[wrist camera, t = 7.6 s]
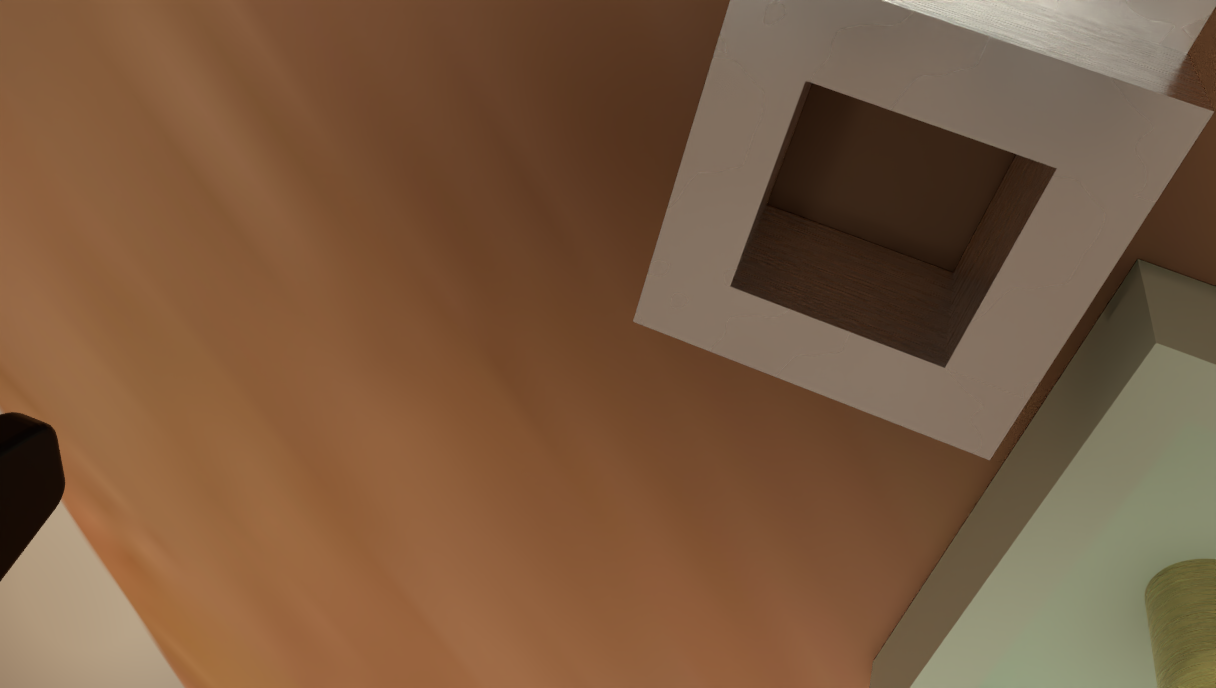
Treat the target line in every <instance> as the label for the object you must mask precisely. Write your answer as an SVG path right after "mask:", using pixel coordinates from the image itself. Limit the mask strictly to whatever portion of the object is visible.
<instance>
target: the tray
mask: <svg viewBox="0 0 1216 688" xmlns="http://www.w3.org/2000/svg"><path fill="white" fill-rule="evenodd" d="M1193 559H1216V287H1215V286H1212V285H1210V284H1207V283H1204V282H1201V281H1198V280H1196V279H1193V278H1190V277H1187V276H1184V275H1182V274H1179V273H1176V272H1173V271H1170V270H1168V269H1165V268H1162V267H1159V266H1156V265H1154V264H1151V263H1148V262H1145V261H1142V260H1140V259H1138V260H1137V261H1136V263H1135V264H1134V266H1133V267H1132V269H1131V270H1130V272H1129V273H1128V275H1127V276H1126V278H1125V279H1124V281H1123V282H1122V284H1121V285H1120V287H1119V288H1118V290H1117V291H1116V293H1115V295H1114V296H1113V298H1112V299H1111V301H1110V302H1109V304H1108V305H1107V307H1106V308H1105V310H1104V311H1103V313H1102V314H1101V316H1100V317H1099V319H1098V320H1097V322H1096V323H1095V325H1094V326H1093V328H1092V329H1091V331H1090V333H1089V334H1088V336H1087V337H1086V339H1085V340H1084V342H1083V343H1082V345H1081V346H1080V348H1079V349H1078V351H1077V352H1076V354H1075V355H1074V357H1073V358H1072V360H1071V361H1070V363H1069V364H1068V366H1067V368H1066V369H1065V371H1064V372H1063V374H1062V375H1061V377H1060V378H1059V380H1058V381H1057V383H1056V384H1055V386H1054V387H1053V389H1052V390H1051V392H1050V393H1049V395H1048V396H1047V398H1046V399H1045V401H1044V402H1043V404H1042V406H1041V407H1040V409H1039V410H1038V412H1037V413H1036V415H1035V416H1034V418H1033V419H1032V421H1031V422H1030V424H1029V425H1028V427H1027V428H1026V430H1025V431H1024V433H1023V434H1022V436H1021V437H1020V439H1019V440H1018V442H1017V444H1016V445H1015V447H1014V448H1013V450H1012V451H1011V453H1010V454H1009V456H1008V457H1007V459H1006V460H1005V462H1004V463H1003V465H1002V466H1001V468H1000V469H999V471H998V472H997V474H996V475H995V477H994V479H993V480H992V482H991V483H990V485H989V486H988V488H987V489H986V491H985V492H984V494H983V495H982V497H981V498H980V500H979V501H978V503H977V504H976V506H975V507H974V509H973V510H972V512H971V513H970V515H969V517H968V518H967V520H966V521H965V523H964V524H963V526H962V527H961V529H960V530H959V532H958V533H957V535H956V536H955V538H954V539H953V541H952V542H951V544H950V545H949V547H948V548H947V550H946V551H945V553H944V555H943V556H942V558H941V559H940V561H939V562H938V564H937V565H936V567H935V568H934V570H933V571H932V573H931V574H930V576H929V577H928V579H927V580H926V582H925V583H924V585H923V586H922V588H921V590H920V591H919V593H918V594H917V596H916V597H915V599H914V600H913V602H912V603H911V605H910V606H909V608H908V609H907V611H906V612H905V614H904V615H903V617H902V618H901V620H900V621H899V623H898V624H897V626H896V628H895V629H894V631H893V632H892V634H891V635H890V637H889V638H888V640H887V641H886V643H885V644H884V646H883V647H882V649H881V650H880V652H879V653H878V655H877V656H876V658H875V659H874V661H873V665H872V673H871V680H870V687H869V688H1157V681H1156V674H1155V667H1154V660H1153V654H1152V647H1151V640H1150V633H1149V626H1148V619H1147V612H1146V606H1145V598H1144V597H1145V590H1146V587H1147V585H1148V583H1149V582H1150V580H1151V579H1152V578H1153V577H1154V576H1155V575H1156V574H1157V573H1158V572H1160V571H1161V570H1162V569H1164V568H1166V567H1168V566H1170V565H1173V564H1175V563H1178V562H1182V561H1186V560H1193Z"/></svg>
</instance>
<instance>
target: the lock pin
mask: <svg viewBox="0 0 1216 688" xmlns="http://www.w3.org/2000/svg"><path fill="white" fill-rule="evenodd" d="M1144 598H1145V606H1146V612H1147V619H1148V626H1149V633H1150V640H1151V647H1152V654H1153V660H1154V667H1155V674H1156V681H1157V688H1216V559H1193V560H1186V561H1182V562H1178V563H1175V564H1173V565H1170V566H1168V567H1166V568H1164V569H1162V570H1161V571H1160V572H1158V573H1157V574H1156V575H1155V576H1154V577H1153V578H1152V579H1151V580H1150V582H1149V583H1148V585H1147V587H1146V590H1145V597H1144Z"/></svg>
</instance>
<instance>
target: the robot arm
mask: <svg viewBox="0 0 1216 688" xmlns="http://www.w3.org/2000/svg"><path fill="white" fill-rule="evenodd" d="M64 489H65V477H64V471H63V466H62V461H61V455H60V450H59V444H58V439H57V435H56V432H55V430H54V429H53V428H52V427H51V425H49V424H47V423H45V422H42V421H40V420H37V419H35V418H32V417H29V416H27V415H24V414H21V413H15V412H11V413H5V414H1V415H0V581H1V580H2V578H3V577H4V576H5V574H6V573H7V572H8V570H9V569H10V568H11V567H12V565H13V564H14V563H15V561H16V560H17V559H18V557H19V556H20V555H21V553H22V552H23V551H24V549H25V548H26V547H27V545H28V544H29V543H30V541H31V540H32V539H33V538H34V536H35V535H36V534H37V532H38V531H39V529H40V528H41V527H42V525H43V524H44V523H45V521H46V520H47V519H48V518H49V516H50V515H51V514H52V512H53V511H54V510H55V508H56V507H57V505H58V504H59V502H60V500H61V498H62V495H63V492H64Z"/></svg>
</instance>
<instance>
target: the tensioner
mask: <svg viewBox="0 0 1216 688" xmlns="http://www.w3.org/2000/svg"><path fill="white" fill-rule="evenodd" d="M1215 6H1216V0H730V2H729V6H728V9H727V12H726V16H725V19H724V22H723V25H722V29H721V32H720V35H719V39H718V42H717V45H716V49H715V52H714V55H713V59H712V62H711V65H710V68H709V72H708V75H707V78H706V82H705V85H704V88H703V92H702V95H701V98H700V102H699V105H698V108H697V111H696V115H695V118H694V121H693V125H692V128H691V131H690V135H689V138H688V141H687V145H686V148H685V151H684V154H683V158H682V161H681V164H680V168H679V171H678V174H677V178H676V181H675V184H674V188H673V191H672V194H671V197H670V201H669V204H668V207H667V211H666V214H665V217H664V221H663V224H662V227H661V231H660V234H659V237H658V240H657V244H656V247H655V250H654V254H653V257H652V260H651V264H650V267H649V270H648V274H647V277H646V280H645V283H644V287H643V290H642V293H641V297H640V300H639V303H638V307H637V310H636V313H635V317H634V320H633V322H635V323H638V324H640V325H643V326H646V327H648V328H651V329H653V330H656V331H658V332H661V333H664V334H666V335H669V336H671V337H674V338H676V339H679V340H682V341H684V342H687V343H689V344H692V345H694V346H697V347H700V348H702V349H705V350H707V351H710V352H712V353H715V354H718V355H720V356H723V357H725V358H728V359H730V360H733V361H736V362H738V363H741V364H743V365H746V366H748V367H751V368H754V369H756V370H759V371H761V372H764V373H766V374H769V375H772V376H774V377H777V378H779V379H782V380H784V381H787V382H790V383H792V384H795V385H797V386H800V387H802V388H805V389H808V390H810V391H813V392H815V393H818V394H820V395H823V396H826V397H828V398H831V399H833V400H836V401H839V402H841V403H844V404H846V405H849V406H851V407H854V408H857V409H859V410H862V411H864V412H867V413H869V414H872V415H875V416H877V417H880V418H882V419H885V420H887V421H890V422H893V423H895V424H898V425H900V426H903V427H905V428H908V429H911V430H913V431H916V432H918V433H921V434H923V435H926V436H929V437H931V438H934V439H936V440H939V441H941V442H944V443H947V444H949V445H952V446H954V447H957V448H959V449H962V450H965V451H967V452H970V453H972V454H975V455H977V456H980V457H983V458H985V459H988V460H990V459H991V457H992V456H993V454H994V453H995V451H996V450H997V448H998V447H999V445H1000V443H1001V442H1002V440H1003V439H1004V437H1005V436H1006V434H1007V433H1008V431H1009V429H1010V428H1011V426H1012V425H1013V423H1014V422H1015V420H1016V419H1017V417H1018V415H1019V414H1020V412H1021V411H1022V409H1023V408H1024V406H1025V405H1026V403H1027V402H1028V400H1029V398H1030V397H1031V395H1032V394H1033V392H1034V391H1035V389H1036V388H1037V386H1038V384H1039V383H1040V381H1041V380H1042V378H1043V377H1044V375H1045V374H1046V372H1047V370H1048V369H1049V367H1050V366H1051V364H1052V363H1053V361H1054V360H1055V358H1056V357H1057V355H1058V353H1059V352H1060V350H1061V349H1062V347H1063V346H1064V344H1065V343H1066V341H1067V339H1068V338H1069V336H1070V335H1071V333H1072V332H1073V330H1074V329H1075V327H1076V325H1077V324H1078V322H1079V321H1080V319H1081V318H1082V316H1083V315H1084V313H1085V311H1086V310H1087V308H1088V307H1089V305H1090V304H1091V302H1092V301H1093V299H1094V298H1095V296H1096V294H1097V293H1098V291H1099V290H1100V288H1101V287H1102V285H1103V284H1104V282H1105V280H1106V279H1107V277H1108V276H1109V274H1110V273H1111V271H1112V270H1113V268H1114V266H1115V265H1116V263H1117V262H1118V260H1119V259H1120V257H1121V256H1122V254H1123V252H1124V251H1125V249H1126V248H1127V246H1128V245H1129V243H1130V242H1131V240H1132V239H1133V237H1134V235H1135V234H1136V232H1137V231H1138V229H1139V228H1140V226H1141V225H1142V223H1143V221H1144V220H1145V218H1146V217H1147V215H1148V214H1149V212H1150V211H1151V209H1152V207H1153V206H1154V204H1155V203H1156V201H1157V200H1158V198H1159V197H1160V195H1161V193H1162V192H1163V190H1164V189H1165V187H1166V186H1167V184H1168V183H1169V181H1170V180H1171V178H1172V176H1173V175H1174V173H1175V172H1176V170H1177V169H1178V167H1179V166H1180V164H1181V162H1182V161H1183V159H1184V158H1185V156H1186V155H1187V153H1188V152H1189V150H1190V148H1191V147H1192V145H1193V144H1194V142H1195V141H1196V139H1197V138H1198V136H1199V134H1200V133H1201V131H1202V130H1203V128H1204V127H1205V125H1206V124H1207V122H1208V121H1209V119H1210V117H1211V116H1212V114H1213V113H1214V110H1213V108H1212V106H1211V104H1210V101H1209V99H1208V97H1207V95H1206V93H1205V91H1204V88H1203V86H1202V84H1201V82H1200V80H1199V78H1198V76H1197V73H1196V71H1195V69H1194V67H1193V65H1192V63H1191V60H1190V58H1189V56H1188V54H1187V53H1188V51H1189V50H1190V48H1191V46H1192V45H1193V43H1194V41H1195V40H1196V38H1197V36H1198V35H1199V33H1200V31H1201V30H1202V28H1203V26H1204V25H1205V23H1206V21H1207V20H1208V18H1209V16H1210V15H1211V13H1212V11H1213V10H1214V8H1215ZM812 83H814V84H816V85H819V86H822V87H825V88H828V89H831V90H834V91H837V92H839V93H842V94H845V95H848V96H851V97H854V98H857V99H859V100H862V101H865V102H868V103H871V104H874V105H877V106H879V107H882V108H885V109H888V110H891V111H894V112H897V113H900V114H902V115H905V116H908V117H911V118H914V119H917V120H920V121H922V122H925V123H928V124H931V125H934V126H937V127H940V128H943V129H945V130H948V131H951V132H954V133H957V134H960V135H963V136H965V137H968V138H971V139H974V140H977V141H980V142H983V143H986V144H988V145H991V146H994V147H997V148H1000V149H1003V150H1006V151H1008V152H1011V153H1014V154H1016V156H1015V158H1014V160H1013V161H1012V163H1011V165H1010V167H1009V169H1008V171H1007V173H1006V175H1005V177H1004V178H1003V180H1002V182H1001V184H1000V186H999V188H998V190H997V192H996V194H995V195H994V197H993V199H992V201H991V203H990V205H989V207H988V209H987V211H986V213H985V214H984V216H983V218H982V220H981V222H980V224H979V226H978V228H977V230H976V231H975V233H974V235H973V237H972V239H971V241H970V243H969V245H968V247H967V248H966V250H965V252H964V254H963V256H962V258H961V260H960V262H959V264H958V266H957V267H956V269H955V271H954V273H952V272H949V271H947V270H944V269H941V268H938V267H936V266H933V265H930V264H927V263H925V262H922V261H919V260H917V259H914V258H911V257H908V256H906V255H903V254H900V253H897V252H895V251H892V250H889V249H887V248H884V247H881V246H878V245H876V244H873V243H870V242H867V241H865V240H862V239H859V238H857V237H854V236H851V235H848V234H846V233H843V232H840V231H837V230H835V229H832V228H829V227H827V226H824V225H821V224H818V223H816V222H813V221H810V220H807V219H805V218H802V217H799V216H797V215H794V214H791V213H788V212H786V211H783V210H780V209H777V208H775V207H772V206H769V205H767V203H768V200H769V198H770V195H771V192H772V189H773V187H774V184H775V181H776V179H777V176H778V173H779V171H780V168H781V165H782V163H783V160H784V157H785V154H786V152H787V149H788V146H789V144H790V141H791V138H792V136H793V133H794V130H795V128H796V125H797V122H798V119H799V117H800V114H801V111H802V109H803V106H804V103H805V101H806V98H807V95H808V93H809V90H810V87H811V84H812Z"/></svg>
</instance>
